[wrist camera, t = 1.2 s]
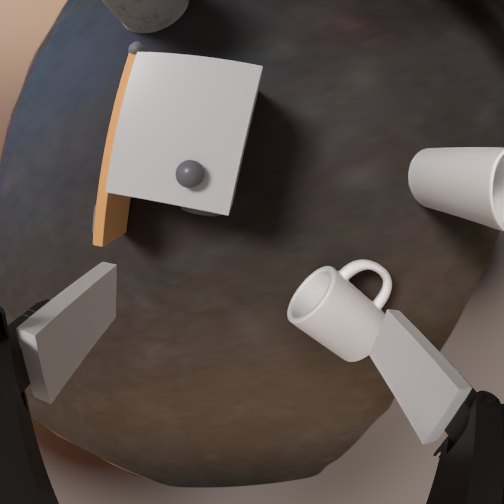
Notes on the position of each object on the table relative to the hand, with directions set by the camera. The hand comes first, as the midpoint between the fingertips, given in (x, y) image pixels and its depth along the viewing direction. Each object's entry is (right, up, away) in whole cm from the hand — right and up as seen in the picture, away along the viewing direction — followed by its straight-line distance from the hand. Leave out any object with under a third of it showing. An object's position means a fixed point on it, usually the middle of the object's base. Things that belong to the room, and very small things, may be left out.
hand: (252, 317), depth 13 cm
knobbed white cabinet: (-7, +16, +20) cm, 26 cm away
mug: (+12, -2, +25) cm, 28 cm away
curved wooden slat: (-14, +16, +19) cm, 29 cm away
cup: (+24, +13, +21) cm, 35 cm away
